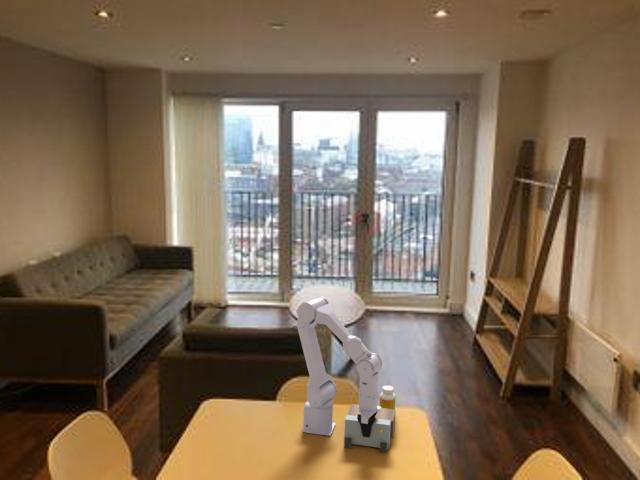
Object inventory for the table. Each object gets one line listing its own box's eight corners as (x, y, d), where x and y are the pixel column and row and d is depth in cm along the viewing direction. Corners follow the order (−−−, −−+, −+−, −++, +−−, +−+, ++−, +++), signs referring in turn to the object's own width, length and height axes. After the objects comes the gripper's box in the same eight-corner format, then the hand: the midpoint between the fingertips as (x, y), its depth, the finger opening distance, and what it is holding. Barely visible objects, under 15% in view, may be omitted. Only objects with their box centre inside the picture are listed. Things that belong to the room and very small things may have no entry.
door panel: (343, 444, 172) (344, 421, 171) (345, 437, 176) (346, 414, 175) (388, 451, 169) (389, 427, 168) (389, 443, 173) (390, 420, 172)
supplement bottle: (394, 418, 190) (395, 392, 189) (378, 416, 191) (379, 390, 190) (395, 410, 196) (396, 385, 194) (380, 409, 197) (381, 383, 195)
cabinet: (341, 447, 172) (341, 429, 171) (350, 420, 188) (351, 404, 187) (389, 454, 168) (390, 436, 167) (394, 426, 185) (395, 409, 184)
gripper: (378, 405, 162) (376, 447, 165) (384, 384, 176) (382, 423, 179) (354, 402, 164) (353, 444, 166) (362, 382, 178) (361, 421, 180)
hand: (367, 433), depth 173 cm, fingers closed on door panel, 3 cm apart
